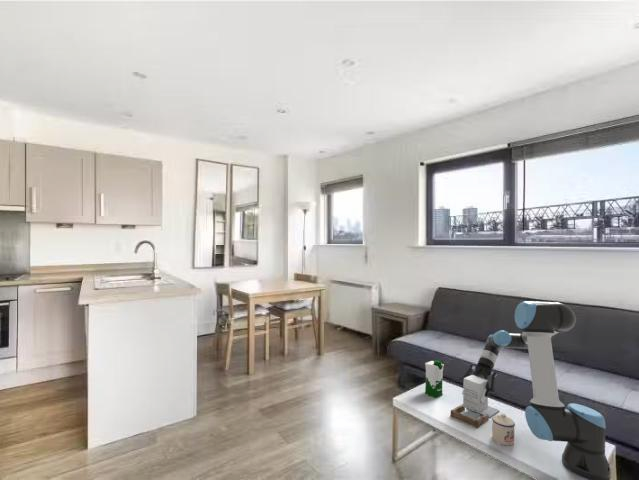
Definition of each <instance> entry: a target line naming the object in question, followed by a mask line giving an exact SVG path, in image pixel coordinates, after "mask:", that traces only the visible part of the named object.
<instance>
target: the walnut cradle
mask: <svg viewBox="0 0 639 480" xmlns="http://www.w3.org/2000/svg"><path fill="white" fill-rule="evenodd" d="M465 410H466V408H465V407H463V403H462V404H460V405H458V406H456V407H455V408H452V409H451V410H450V418H453V419H456V420H458V421H459V422H461V423H465V424H466V425H469V426H471V427H473V428H474V429H478V428H479V427H480V426H482V425H484V424H485V423H487V422H488V421H489V418H488V416H489V414H484V415H483V416H482V415H480V417H478V418H476V419H474V418H471V417H469V416H467V415H465V414H463V413H464V412H465Z"/></svg>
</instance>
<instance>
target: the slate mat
mask: <svg viewBox="0 0 639 480" xmlns="http://www.w3.org/2000/svg"><path fill="white" fill-rule="evenodd" d="M465 410H468V411H471V412H473V413H475V414H478V415H480V416H483V415H484V414H489V416H488V419H492V417H493V416H494V415H498V413H500V411H501V410H499V409H498V408H495V407H492V406H489V405H488V409H486V410H485V411H483V412H481V413H477V412H475V411H472V410H470V409H468V408H465Z"/></svg>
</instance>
